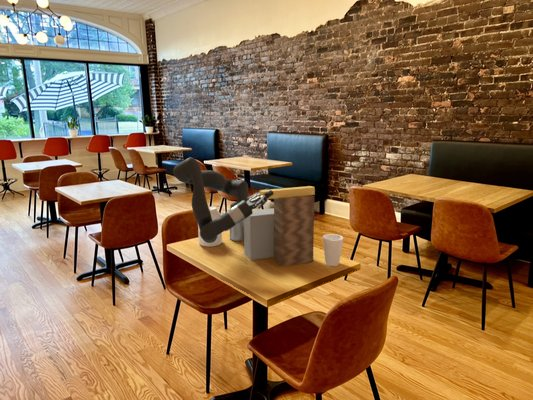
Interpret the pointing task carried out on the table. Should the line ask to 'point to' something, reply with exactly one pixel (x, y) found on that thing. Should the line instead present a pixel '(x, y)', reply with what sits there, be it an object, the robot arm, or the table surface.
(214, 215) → the white jar
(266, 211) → the block
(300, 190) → the rail
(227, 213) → the robot arm
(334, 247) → the foam cup
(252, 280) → the table surface
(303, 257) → the stand
